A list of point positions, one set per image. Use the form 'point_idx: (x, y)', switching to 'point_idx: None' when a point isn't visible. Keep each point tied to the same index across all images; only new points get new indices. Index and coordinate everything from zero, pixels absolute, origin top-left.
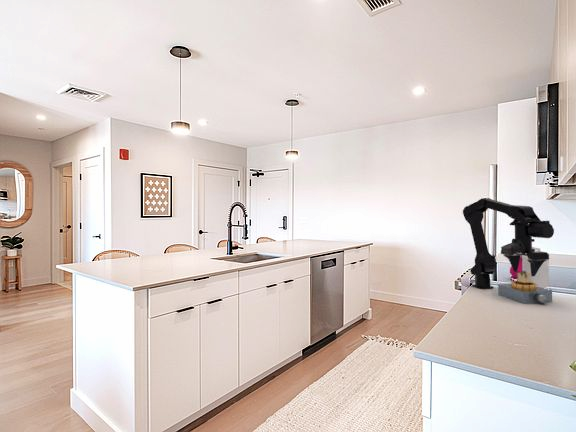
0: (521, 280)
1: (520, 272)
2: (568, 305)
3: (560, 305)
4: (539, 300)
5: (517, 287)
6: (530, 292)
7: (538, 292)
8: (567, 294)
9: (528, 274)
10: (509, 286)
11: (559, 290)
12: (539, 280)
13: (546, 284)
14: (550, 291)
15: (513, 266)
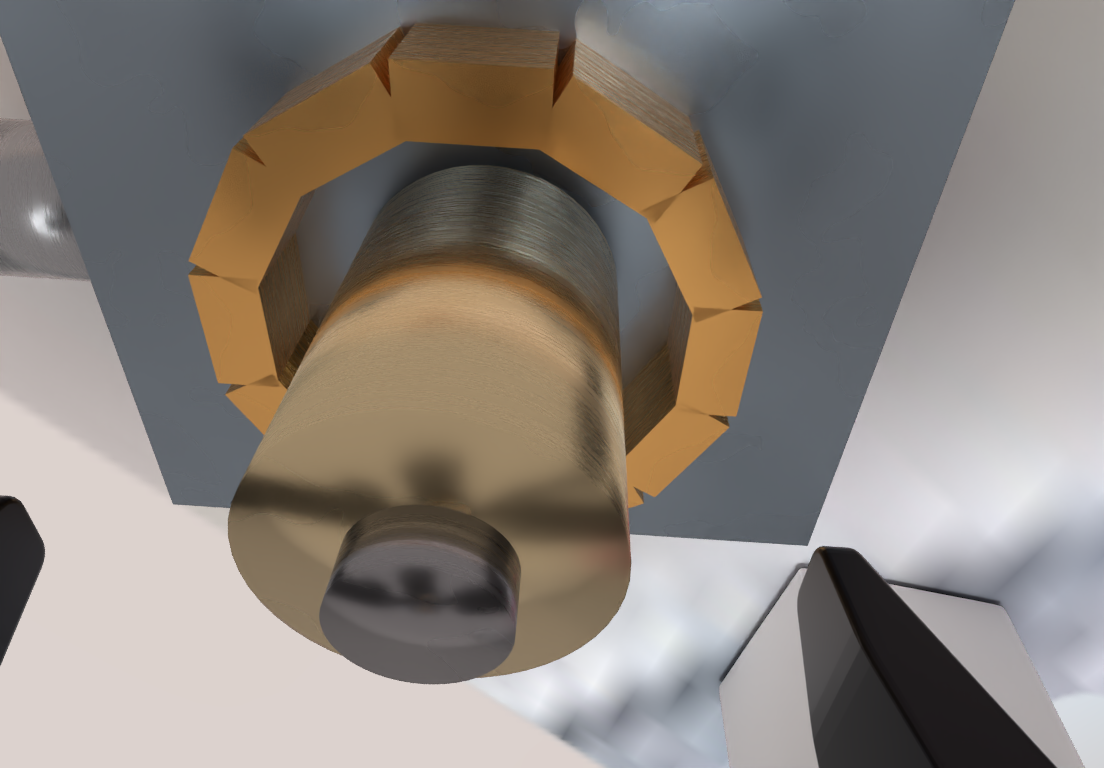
0: (374, 285)
1: (546, 558)
2: (86, 422)
3: (73, 344)
4: (30, 121)
5: (375, 43)
6: (23, 69)
7: (101, 264)
8: (533, 698)
9: (243, 558)
10: (667, 25)
11: (685, 741)
12: (786, 755)
13: (739, 742)
14: (171, 473)
15: (912, 731)
